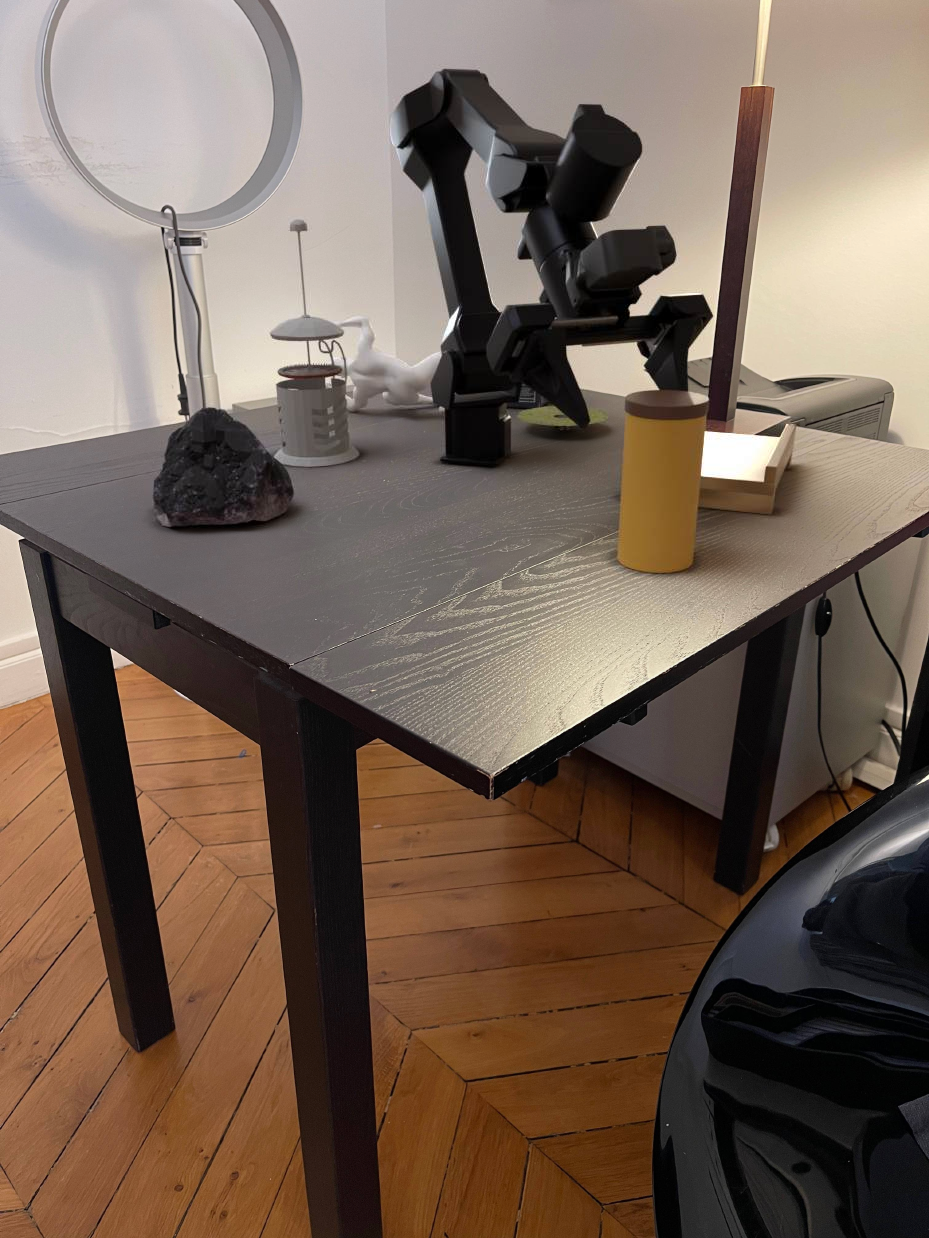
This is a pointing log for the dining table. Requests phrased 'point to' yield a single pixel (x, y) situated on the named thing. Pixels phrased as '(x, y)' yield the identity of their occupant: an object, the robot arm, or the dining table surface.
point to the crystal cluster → (219, 475)
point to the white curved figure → (384, 372)
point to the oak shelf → (744, 470)
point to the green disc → (557, 417)
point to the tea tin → (661, 479)
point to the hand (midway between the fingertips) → (636, 419)
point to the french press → (312, 394)
